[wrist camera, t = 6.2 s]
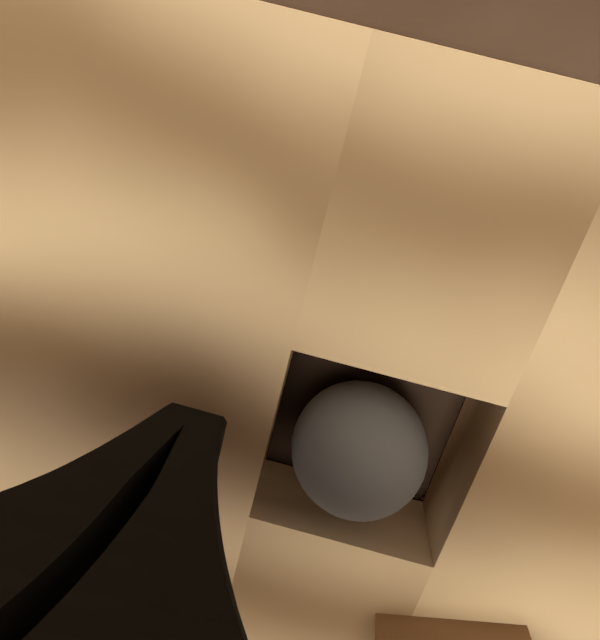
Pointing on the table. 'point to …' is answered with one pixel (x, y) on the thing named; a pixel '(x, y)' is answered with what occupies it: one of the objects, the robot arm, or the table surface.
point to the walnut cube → (444, 629)
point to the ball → (359, 451)
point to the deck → (311, 288)
